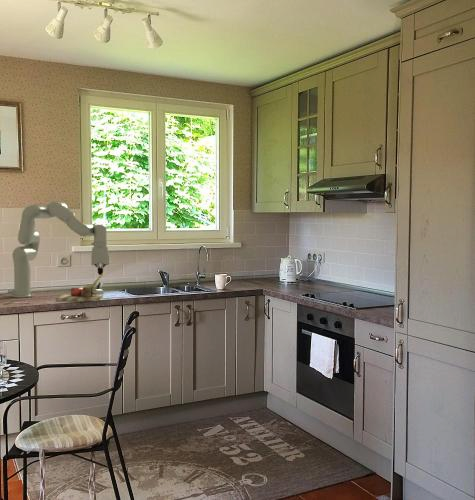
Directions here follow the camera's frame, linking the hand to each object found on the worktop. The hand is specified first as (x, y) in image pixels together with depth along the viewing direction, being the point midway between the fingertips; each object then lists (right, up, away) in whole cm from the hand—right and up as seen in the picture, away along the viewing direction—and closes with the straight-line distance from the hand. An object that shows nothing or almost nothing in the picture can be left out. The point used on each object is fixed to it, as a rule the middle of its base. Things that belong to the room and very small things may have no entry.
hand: (100, 274), depth 345 cm
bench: (-12, -15, 0) cm, 20 cm away
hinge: (-7, -15, +21) cm, 26 cm away
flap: (-5, -7, 0) cm, 8 cm away
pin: (-8, -13, 0) cm, 15 cm away
